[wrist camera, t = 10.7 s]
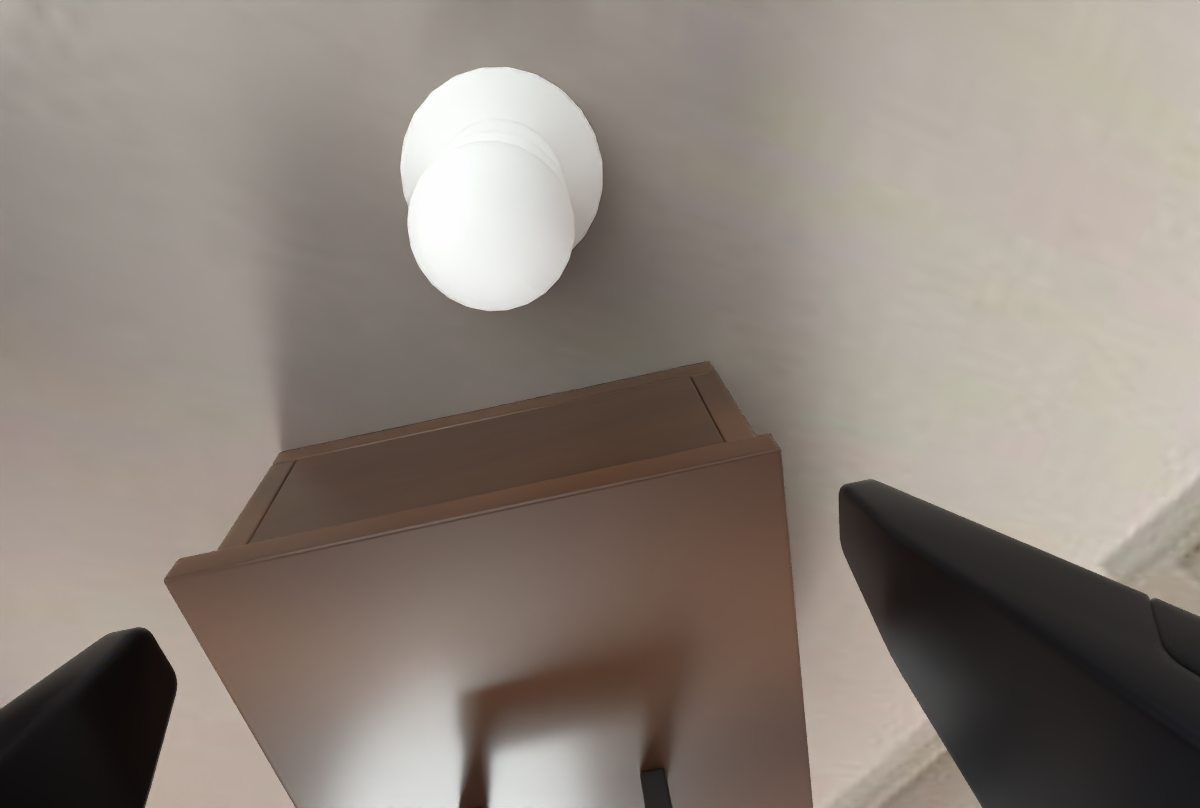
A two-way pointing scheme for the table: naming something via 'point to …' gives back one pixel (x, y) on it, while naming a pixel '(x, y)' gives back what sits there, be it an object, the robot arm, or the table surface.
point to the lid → (526, 644)
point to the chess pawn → (498, 186)
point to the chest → (490, 451)
